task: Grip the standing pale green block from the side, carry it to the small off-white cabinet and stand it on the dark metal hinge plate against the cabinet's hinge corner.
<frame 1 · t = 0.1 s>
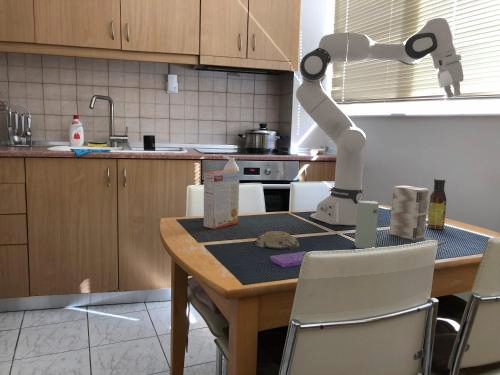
hand: (454, 96, 164), 52 cm above the table, tool tilted 20°, fingers open, 8 cm apart
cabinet: (406, 235, 159), on the table
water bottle: (228, 216, 180), on the table
grey lumpy flat piece: (276, 245, 142), on the table
sponges: (294, 263, 124), on the table
sauce bottle: (435, 228, 173), on the table
pale green block: (364, 246, 142), on the table
cracker box: (220, 225, 164), on the table
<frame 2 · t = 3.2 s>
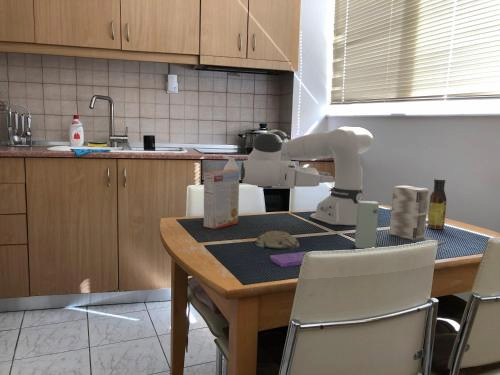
hand: (331, 177, 139), 22 cm above the table, tool horizontal, fingers open, 8 cm apart
nothing on the table moved.
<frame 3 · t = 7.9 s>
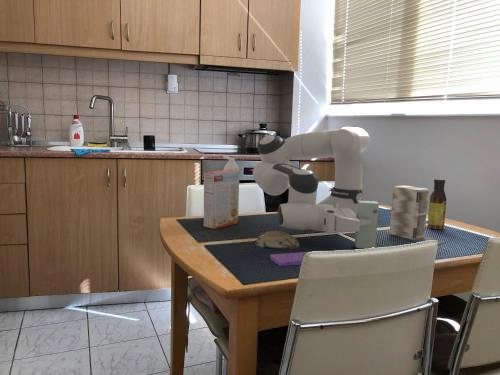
hand: (369, 220, 140), 9 cm above the table, tool horizontal, fingers closed on pale green block, 4 cm apart
pale green block: (364, 246, 142), on the table, touching gripper
everything else where it was.
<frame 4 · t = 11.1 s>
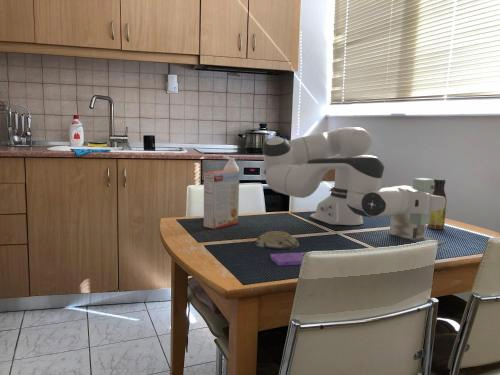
hand: (423, 196, 143), 17 cm above the table, tool horizontal, fingers closed on pale green block, 4 cm apart
pale green block: (419, 223, 144), point 8 cm above the table, touching gripper
everything else where it was.
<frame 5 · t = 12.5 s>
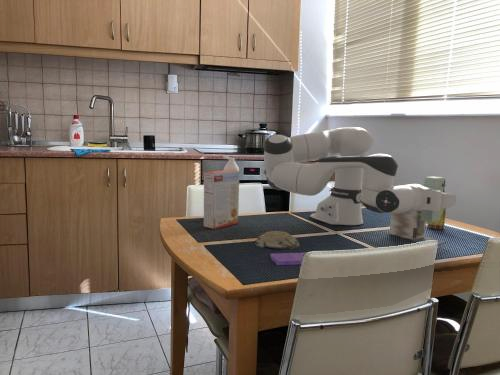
hand: (434, 194, 149), 17 cm above the table, tool horizontal, fingers closed on pale green block, 4 cm apart
pale green block: (430, 219, 149), point 8 cm above the table, touching gripper
everything else where it was.
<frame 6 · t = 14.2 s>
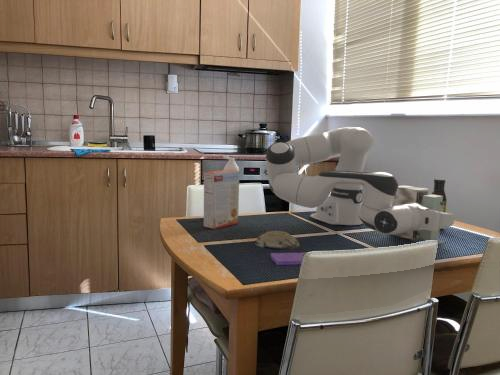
hand: (432, 212, 150), 11 cm above the table, tool horizontal, fingers closed on pale green block, 4 cm apart
pale green block: (429, 237, 150), point 1 cm above the table, touching gripper
when the fingers open (10 cm above the table, at t = 14.7 s): pale green block drops 1 cm, resting on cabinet.
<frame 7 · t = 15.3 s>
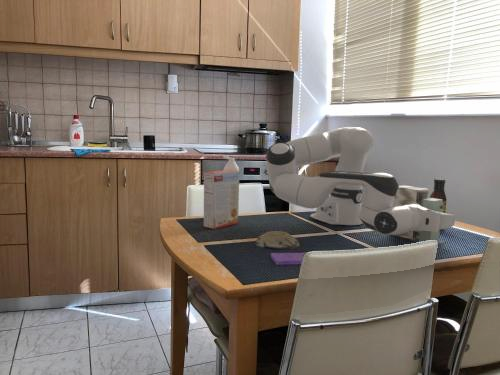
hand: (433, 213, 149), 10 cm above the table, tool horizontal, fingers open, 5 cm apart
pale green block: (428, 241, 151), resting on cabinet, touching gripper
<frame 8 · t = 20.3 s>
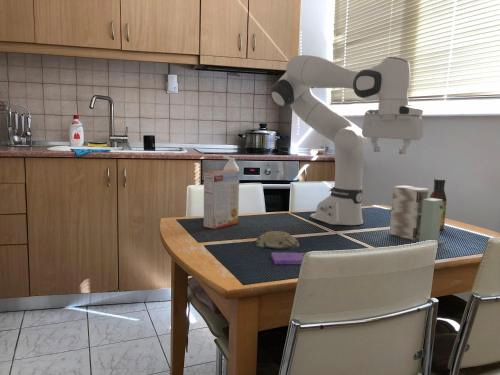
hand: (389, 153, 138), 31 cm above the table, tool pointing down, fingers open, 8 cm apart
pale green block: (428, 241, 151), resting on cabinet
at the end: pale green block inside the target area (0.2 cm from its centre), resting on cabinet; pale green block tilted 0°; the gripper is holding nothing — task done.
